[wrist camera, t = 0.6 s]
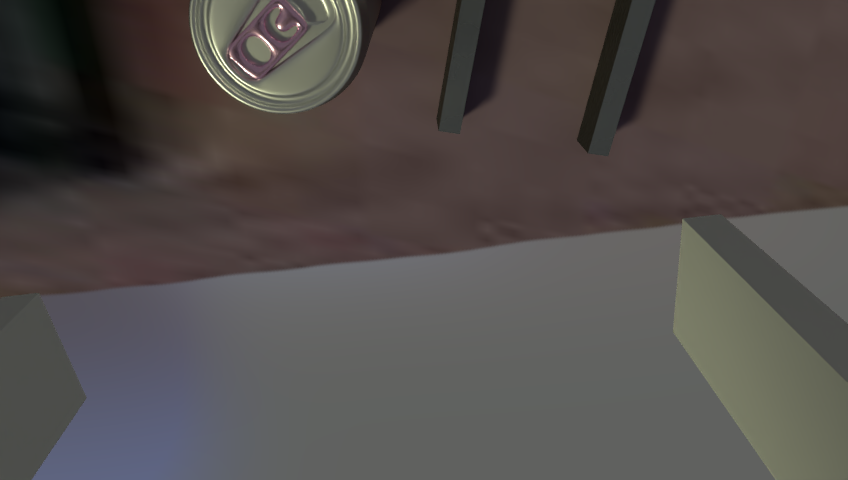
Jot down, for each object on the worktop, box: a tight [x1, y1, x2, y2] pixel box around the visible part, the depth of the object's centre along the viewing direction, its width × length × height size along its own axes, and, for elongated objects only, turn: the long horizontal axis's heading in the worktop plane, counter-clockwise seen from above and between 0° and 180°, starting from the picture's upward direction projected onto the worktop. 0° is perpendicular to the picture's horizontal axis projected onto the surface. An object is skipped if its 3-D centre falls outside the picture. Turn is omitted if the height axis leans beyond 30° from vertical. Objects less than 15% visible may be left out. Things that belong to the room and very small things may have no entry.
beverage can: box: [189, 0, 382, 114], centre depth 27 cm, size 6×6×15 cm
